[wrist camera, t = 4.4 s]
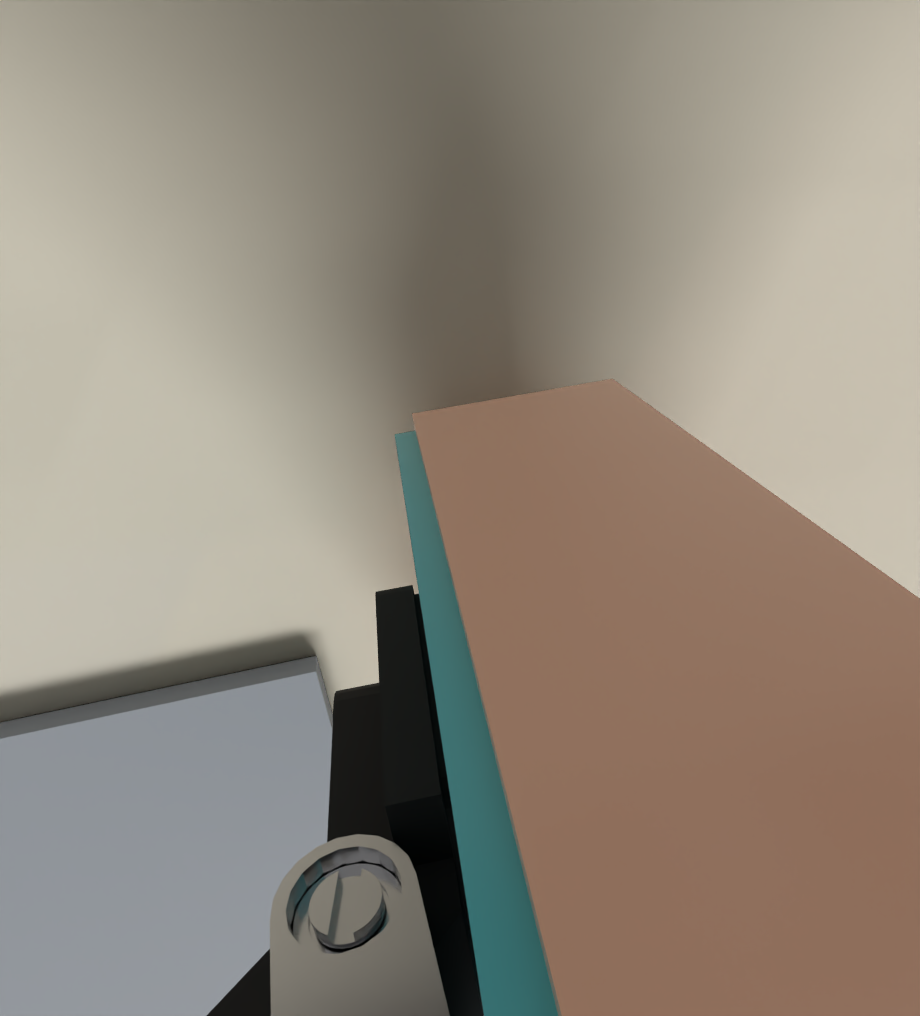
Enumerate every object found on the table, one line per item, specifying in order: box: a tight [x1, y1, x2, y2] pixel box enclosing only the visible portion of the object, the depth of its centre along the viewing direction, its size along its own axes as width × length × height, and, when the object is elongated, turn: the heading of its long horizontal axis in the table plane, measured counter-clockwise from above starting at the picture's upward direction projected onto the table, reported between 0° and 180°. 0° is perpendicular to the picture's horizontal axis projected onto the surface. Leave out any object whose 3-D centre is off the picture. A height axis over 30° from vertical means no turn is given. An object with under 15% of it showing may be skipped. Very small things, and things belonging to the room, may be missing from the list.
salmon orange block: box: [395, 379, 920, 1016], centre depth 8 cm, size 3×7×9 cm, turn 8°
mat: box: [0, 656, 333, 1016], centre depth 16 cm, size 16×16×1 cm
